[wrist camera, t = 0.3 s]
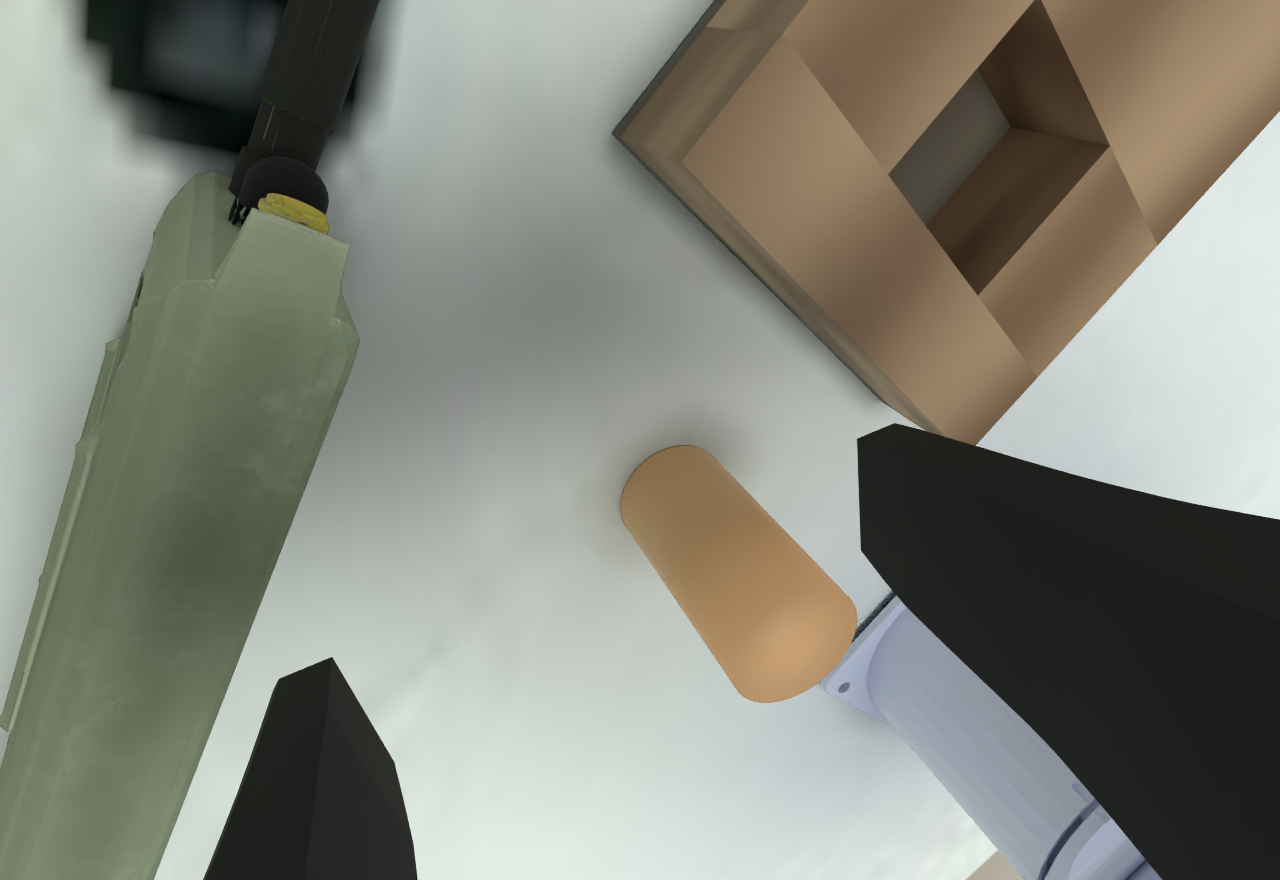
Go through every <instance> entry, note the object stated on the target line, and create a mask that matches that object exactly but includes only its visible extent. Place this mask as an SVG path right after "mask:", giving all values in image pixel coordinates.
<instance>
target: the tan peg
mask: <svg viewBox="0 0 1280 880" xmlns="http://www.w3.org/2000/svg"><path fill="white" fill-rule="evenodd" d="M620 509H621V516H622V519H623V522H624V524H625V526H626V527H627V529H628V530H629V531H630V533H631V534H632V536H633V537H634V539H635V540H636V542H637V543H638V545H639V546H640V548H641V549H642V551H643V552H644V554H645V555H646V557H647V558H648V560H649V561H650V562H651V564H652V565H653V567H654V568H655V570H656V571H657V573H658V574H659V576H660V577H661V579H662V580H663V582H664V583H665V585H666V586H667V588H668V589H669V590H670V592H671V593H672V595H673V596H674V598H675V599H676V601H677V602H678V604H679V605H680V607H681V608H682V610H683V611H684V613H685V614H686V616H687V617H688V618H689V620H690V621H691V623H692V624H693V626H694V627H695V629H696V630H697V632H698V633H699V635H700V636H701V638H702V639H703V641H704V642H705V644H706V645H707V647H708V648H709V649H710V651H711V652H712V654H713V655H714V657H715V658H716V660H717V661H718V663H719V664H720V666H721V667H722V669H723V670H724V672H725V673H726V675H727V676H728V677H729V679H730V680H731V682H732V683H733V685H734V686H735V688H736V689H737V691H738V692H739V693H740V694H741V695H742V696H743V697H745V698H747V699H749V700H751V701H754V702H760V703H771V702H778V701H782V700H786V699H789V698H792V697H794V696H796V695H799V694H801V693H803V692H804V691H806V690H808V689H809V688H811V687H813V686H814V685H816V684H817V683H818V682H820V681H821V680H822V679H823V678H824V677H826V676H827V675H828V674H829V673H830V672H831V671H832V670H833V669H834V668H835V667H836V666H837V664H838V663H839V662H840V661H841V659H842V658H843V657H844V655H845V654H846V652H847V650H848V649H849V647H850V645H851V643H852V640H853V638H854V635H855V631H856V627H857V612H856V608H855V606H854V604H853V602H852V601H851V599H850V598H849V597H848V596H847V595H846V594H845V593H844V592H843V591H842V590H841V589H840V588H839V587H838V585H837V584H836V583H835V582H834V581H833V580H832V579H831V578H830V577H829V576H828V575H827V574H826V573H825V572H824V571H823V570H822V569H821V568H820V567H819V566H818V565H817V564H816V563H815V562H814V561H813V560H812V559H811V558H810V556H809V555H808V554H807V553H806V552H805V551H804V550H803V549H802V548H801V547H800V546H799V545H798V544H797V543H796V542H795V541H794V540H793V539H792V538H791V537H790V536H789V535H788V534H787V533H786V532H785V531H784V530H783V528H782V527H781V526H780V525H779V524H778V523H777V522H776V521H775V520H774V519H773V518H772V517H771V516H770V515H769V514H768V513H767V512H766V511H765V510H764V509H763V508H762V507H761V506H760V505H759V504H758V503H757V502H756V500H755V499H754V498H753V497H752V496H751V495H750V494H749V493H748V492H747V491H746V490H745V489H744V488H743V487H742V486H741V485H740V484H739V483H738V482H737V481H736V480H735V479H734V478H733V477H732V476H731V475H730V474H729V472H728V471H727V470H726V469H725V468H724V467H723V466H722V465H721V464H720V463H719V462H718V461H717V460H716V459H715V458H714V457H713V456H712V455H711V454H710V453H708V452H707V451H705V450H703V449H701V448H698V447H694V446H676V447H671V448H668V449H665V450H662V451H660V452H658V453H656V454H654V455H652V456H651V457H650V458H648V459H647V460H645V461H644V462H643V463H642V464H641V465H640V466H639V467H638V468H637V469H636V470H635V471H634V472H633V474H632V475H631V476H630V478H629V480H628V481H627V483H626V485H625V488H624V490H623V493H622V497H621V506H620Z"/></svg>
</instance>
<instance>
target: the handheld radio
mask: <svg viewBox="0 0 1280 880" xmlns="http://www.w3.org/2000/svg"><path fill="white" fill-rule="evenodd" d="M378 3H379V0H288V2H287V5H286V8H285V12H284V15H283V18H282V21H281V24H280V27H279V31H278V34H277V37H276V40H275V43H274V47H273V50H272V53H271V56H270V59H269V62H268V66H267V69H266V72H265V75H264V78H263V82H262V85H261V88H260V91H259V94H258V96H259V97H260V98H261V99H262V101H261V104H260V108H259V111H258V114H257V117H256V120H255V123H254V127H253V130H252V133H251V136H250V139H249V142H248V146H242V148H241V152H240V155H239V158H238V161H237V164H236V167H235V171H234V174H233V177H232V178H231V177H229V176H226V175H224V174H221V173H219V172H216V171H213V172H207V173H201V174H197V175H196V176H195V177H194V178H192V179H191V180H190V181H189V182H188V183H187V184H186V185H185V186H184V187H183V188H182V190H181V191H180V192H179V193H178V194H177V195H176V197H175V198H174V199H173V200H172V201H171V203H170V204H169V205H168V206H167V208H166V210H165V212H164V214H163V216H162V218H161V220H160V222H159V223H158V225H157V227H156V229H155V231H154V237H153V243H152V247H151V251H150V254H149V257H148V260H147V262H146V265H145V267H144V269H143V271H142V274H141V277H140V281H139V284H138V287H137V291H136V294H135V298H134V301H133V304H132V308H131V311H130V315H129V318H128V321H127V325H126V328H125V332H124V335H123V338H117V339H114V340H112V341H110V342H108V343H106V350H105V357H104V360H103V364H102V367H101V371H100V374H99V378H98V381H97V384H96V388H95V391H94V395H93V398H92V402H91V405H90V409H89V412H88V415H87V419H86V422H85V426H84V429H83V433H82V436H81V439H80V441H79V442H78V443H77V444H76V454H75V460H74V464H73V467H72V471H71V474H70V478H69V481H68V485H67V488H66V492H65V495H64V499H63V502H62V506H61V509H60V513H59V516H58V520H57V523H56V527H55V530H54V534H53V537H52V541H51V544H50V548H49V552H48V555H47V559H46V562H45V566H44V569H43V573H42V574H41V576H40V578H39V587H38V590H37V594H36V597H35V601H34V604H33V608H32V611H31V615H30V618H29V622H28V625H27V629H26V632H25V636H24V639H23V643H22V646H21V650H20V653H19V657H18V660H17V664H16V667H15V671H14V674H13V678H12V681H11V685H10V688H9V692H8V695H7V699H6V702H5V706H4V709H3V713H2V714H1V716H0V726H1V727H2V728H3V729H4V730H5V731H6V732H10V735H9V739H8V743H7V746H6V750H5V754H4V758H3V761H2V765H1V769H0V880H154V877H155V875H156V872H157V869H158V867H159V864H160V862H161V859H162V857H163V854H164V851H165V849H166V846H167V844H168V841H169V838H170V836H171V833H172V831H173V828H174V826H175V823H176V820H177V818H178V815H179V813H180V810H181V807H182V805H183V802H184V800H185V797H186V795H187V792H188V789H189V787H190V784H191V782H192V779H193V776H194V774H195V771H196V769H197V766H198V764H199V761H200V758H201V756H202V753H203V751H204V748H205V745H206V743H207V740H208V738H209V735H210V733H211V730H212V727H213V725H214V722H215V720H216V717H217V714H218V712H219V709H220V707H221V704H222V702H223V699H224V696H225V694H226V691H227V689H228V686H229V683H230V681H231V678H232V676H233V673H234V671H235V668H236V665H237V663H238V660H239V658H240V655H241V653H242V650H243V647H244V645H245V642H246V640H247V637H248V634H249V632H250V629H251V627H252V624H253V622H254V619H255V616H256V614H257V611H258V609H259V606H260V603H261V601H262V598H263V596H264V593H265V591H266V588H267V585H268V583H269V580H270V578H271V575H272V572H273V570H274V567H275V565H276V562H277V560H278V557H279V554H280V552H281V549H282V547H283V544H284V541H285V539H286V536H287V534H288V531H289V529H290V526H291V523H292V521H293V518H294V516H295V513H296V510H297V508H298V505H299V503H300V500H301V498H302V495H303V492H304V490H305V487H306V485H307V482H308V479H309V477H310V474H311V472H312V469H313V467H314V464H315V461H316V459H317V456H318V454H319V451H320V448H321V446H322V443H323V441H324V438H325V436H326V433H327V430H328V428H329V425H330V423H331V420H332V417H333V415H334V412H335V410H336V407H337V405H338V402H339V399H340V397H341V394H342V392H343V389H344V387H345V384H346V381H347V379H348V376H349V374H350V371H351V368H352V366H353V362H354V359H355V355H356V351H357V348H358V344H359V338H358V335H357V332H356V329H355V327H354V324H353V321H352V319H351V316H350V313H349V311H348V308H347V305H346V303H345V300H344V297H343V294H342V292H341V289H340V286H341V281H342V277H343V273H344V268H345V264H346V259H347V255H348V250H349V245H350V244H347V243H345V242H343V241H340V240H338V239H336V238H333V237H331V236H329V235H326V234H327V233H328V230H329V225H328V224H327V222H326V221H327V217H326V216H325V215H326V212H327V208H328V203H329V201H328V193H327V190H326V187H325V185H324V183H323V182H322V180H321V178H320V177H319V176H318V175H317V174H316V173H315V171H316V168H317V165H318V162H319V159H320V156H321V153H322V150H323V148H324V145H325V142H326V139H327V136H328V133H329V130H335V127H336V124H337V121H338V118H339V115H340V112H341V110H342V107H343V104H344V101H345V98H346V95H347V92H348V89H349V87H350V84H351V81H352V78H353V75H354V72H355V69H356V66H357V63H358V61H359V58H360V55H361V52H362V49H363V46H364V43H365V40H366V38H367V35H368V32H369V29H370V26H371V23H372V20H373V17H374V15H375V12H376V9H377V6H378Z"/></svg>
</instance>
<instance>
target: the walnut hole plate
mask: <svg viewBox="0 0 1280 880" xmlns="http://www.w3.org/2000/svg"><path fill="white" fill-rule="evenodd" d="M1279 111H1280V0H715V1H714V2H713V3H712V5H711V6H710V7H709V9H708V10H707V11H706V12H705V14H704V15H703V16H702V18H701V19H700V20H699V21H698V23H697V24H696V25H695V27H694V28H693V29H692V31H691V32H690V33H689V34H688V36H687V37H686V38H685V40H684V41H683V42H682V43H681V45H680V46H679V47H678V49H677V50H676V51H675V52H674V54H673V55H672V56H671V58H670V59H669V60H668V61H667V63H666V64H665V65H664V67H663V68H662V69H661V71H660V72H659V73H658V74H657V76H656V77H655V78H654V80H653V81H652V82H651V83H650V85H649V86H648V87H647V89H646V90H645V91H644V92H643V94H642V95H641V96H640V98H639V99H638V100H637V101H636V103H635V104H634V105H633V107H632V108H631V109H630V110H629V112H628V113H627V114H626V116H625V117H624V118H623V120H622V121H621V122H620V123H619V125H618V126H617V127H616V129H615V130H614V131H613V132H612V134H613V135H614V136H615V137H616V138H617V139H618V140H619V141H620V142H621V143H622V144H623V145H624V146H625V147H626V148H627V149H628V150H629V151H630V152H631V153H632V154H633V155H634V156H635V157H636V158H637V159H638V160H639V161H640V162H641V163H642V164H643V165H644V166H645V167H646V168H647V169H648V170H649V171H650V172H651V173H652V174H653V175H654V176H655V177H656V178H657V179H658V180H659V181H660V182H661V183H662V184H663V185H664V186H665V187H666V188H668V189H669V190H670V191H671V192H672V193H673V194H674V195H675V196H676V197H677V198H678V199H679V200H680V201H681V202H682V203H683V204H684V205H685V206H686V207H687V208H688V209H689V210H690V211H691V212H692V213H693V214H694V215H695V216H696V217H697V218H698V219H699V220H700V221H701V222H702V223H703V224H704V225H705V226H706V227H707V228H708V229H709V230H710V231H711V232H712V233H713V234H714V235H715V236H716V237H717V238H718V239H719V240H720V241H721V242H722V243H723V244H724V245H725V246H726V247H727V248H728V249H729V250H730V251H731V252H732V253H733V254H734V255H735V256H736V257H737V258H738V259H739V260H740V261H741V262H742V263H743V264H744V265H745V266H746V267H747V268H748V269H749V270H750V271H751V272H752V273H753V274H754V275H755V276H756V277H757V278H758V279H759V280H760V281H761V282H762V283H763V284H764V285H765V286H766V287H767V288H768V289H769V290H770V291H771V292H772V293H773V294H774V295H775V296H776V297H777V298H778V299H779V300H780V301H781V302H782V303H783V304H784V305H785V306H786V307H787V308H788V309H789V310H790V311H792V312H793V313H794V314H795V315H796V316H797V317H798V318H799V319H800V320H801V321H802V322H803V323H804V324H805V325H806V326H807V327H808V328H809V329H810V330H811V331H812V332H813V333H814V334H815V335H816V336H817V337H818V338H819V339H820V340H821V341H822V342H823V343H824V344H825V345H826V346H827V347H828V348H829V349H830V350H831V351H832V352H833V353H834V354H835V355H836V356H837V357H838V358H839V359H840V360H841V361H842V362H843V363H844V364H845V365H846V366H847V367H848V368H849V369H850V370H851V371H852V372H853V373H854V374H855V375H856V376H857V377H858V378H859V379H860V380H861V381H862V382H863V383H864V384H865V385H866V386H867V387H868V388H869V389H870V390H871V391H872V392H873V393H874V394H875V395H876V396H877V397H878V398H879V399H880V400H881V401H882V402H883V403H885V404H886V405H888V406H889V407H891V408H892V409H894V410H895V411H897V412H898V413H900V414H901V415H903V416H904V417H906V418H907V419H909V420H910V421H912V422H913V423H915V424H916V425H918V426H919V427H921V428H922V429H924V430H925V431H927V432H930V433H934V434H937V435H941V436H944V437H948V438H951V439H954V440H958V441H961V442H964V443H968V444H971V445H974V446H975V445H976V444H977V443H978V442H979V441H980V440H981V439H982V438H983V437H984V436H985V434H986V433H987V432H988V431H989V430H990V429H991V428H992V427H993V426H994V425H995V423H996V422H997V421H998V420H999V419H1000V418H1001V417H1002V416H1003V415H1004V414H1005V412H1006V411H1007V410H1008V409H1009V408H1010V407H1011V406H1012V405H1013V404H1014V403H1015V401H1016V400H1017V399H1018V398H1019V397H1020V396H1021V395H1022V394H1023V393H1024V392H1025V390H1026V389H1027V388H1028V387H1029V386H1030V385H1031V384H1032V383H1033V382H1034V381H1035V379H1036V378H1037V377H1038V376H1039V375H1040V374H1041V373H1042V372H1043V371H1044V370H1045V368H1046V367H1047V366H1048V365H1049V364H1050V363H1051V362H1052V361H1053V360H1054V359H1055V357H1056V356H1057V355H1058V354H1059V353H1060V352H1061V351H1062V350H1063V349H1064V348H1065V347H1066V345H1067V344H1068V343H1069V342H1070V341H1071V340H1072V339H1073V338H1074V337H1075V336H1076V334H1077V333H1078V332H1079V331H1080V330H1081V329H1082V328H1083V327H1084V326H1085V325H1086V323H1087V322H1088V321H1089V320H1090V319H1091V318H1092V317H1093V316H1094V315H1095V314H1096V312H1097V311H1098V310H1099V309H1100V308H1101V307H1102V306H1103V305H1104V304H1105V303H1106V301H1107V300H1108V299H1109V298H1110V297H1111V296H1112V295H1113V294H1114V293H1115V292H1116V290H1117V289H1118V288H1119V287H1120V286H1121V285H1122V284H1123V283H1124V282H1125V281H1126V279H1127V278H1128V277H1129V276H1130V275H1131V274H1132V273H1133V272H1134V271H1135V270H1136V268H1137V267H1138V266H1139V265H1140V264H1141V263H1142V262H1143V261H1144V260H1145V259H1146V257H1147V256H1148V255H1149V254H1150V253H1151V252H1152V251H1153V250H1154V249H1155V248H1156V246H1157V245H1158V244H1159V243H1160V242H1161V241H1162V240H1163V239H1164V238H1165V237H1166V235H1167V234H1168V233H1169V232H1170V231H1171V230H1172V229H1173V228H1174V227H1175V226H1176V224H1177V223H1178V222H1179V221H1180V220H1181V219H1182V218H1183V217H1184V216H1185V215H1186V213H1187V212H1188V211H1189V210H1190V209H1191V208H1192V207H1193V206H1194V205H1195V204H1196V202H1197V201H1198V200H1199V199H1200V198H1201V197H1202V196H1203V195H1204V194H1205V193H1206V191H1207V190H1208V189H1209V188H1210V187H1211V186H1212V185H1213V184H1214V183H1215V182H1216V180H1217V179H1218V178H1219V177H1220V176H1221V175H1222V174H1223V173H1224V172H1225V171H1226V169H1227V168H1228V167H1229V166H1230V165H1231V164H1232V163H1233V162H1234V161H1235V160H1236V159H1237V157H1238V156H1239V155H1240V154H1241V153H1242V152H1243V151H1244V150H1245V149H1246V148H1247V146H1248V145H1249V144H1250V143H1251V142H1252V141H1253V140H1254V139H1255V138H1256V137H1257V135H1258V134H1259V133H1260V132H1261V131H1262V130H1263V129H1264V128H1265V127H1266V126H1267V124H1268V123H1269V122H1270V121H1271V120H1272V119H1273V118H1274V117H1275V116H1276V115H1277V113H1278V112H1279Z"/></svg>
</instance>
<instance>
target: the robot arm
mask: <svg viewBox="0 0 1280 880" xmlns="http://www.w3.org/2000/svg"><path fill="white" fill-rule="evenodd" d="M857 449H858V478H859V507H860V537H861V551H862V552H863V554H864V555H865V556H866V557H867V559H868V560H869V561H870V563H871V564H872V565H873V567H874V568H875V569H876V570H877V572H878V573H879V574H880V576H881V577H882V578H883V579H884V581H885V582H886V583H887V584H888V586H889V587H890V588H891V589H892V590H893V592H894V593H895V594H896V596H895V597H894V598H893V599H892V600H891V601H890V603H889V604H888V605H887V606H886V607H885V608H884V609H883V610H882V611H881V612H880V613H879V614H878V616H877V617H876V618H875V619H874V620H873V621H872V622H871V623H870V624H869V625H868V626H867V627H866V629H865V630H864V631H863V632H862V633H861V634H860V635H859V636H858V637H857V638H856V639H855V640H854V642H853V643H852V644H851V645H850V647H849V649H848V650H847V652H846V654H845V655H844V657H843V658H842V659H841V661H840V662H839V663H838V664H837V666H836V667H835V668H834V669H833V670H832V671H831V672H830V673H829V674H828V675H827V676H826V677H824V678H823V679H822V680H821V681H820V684H821V686H822V687H823V689H824V690H825V691H826V692H827V693H829V694H831V695H833V696H835V697H837V698H839V699H840V700H842V701H844V702H846V703H848V704H850V705H852V706H854V707H856V708H858V709H860V710H862V711H864V712H866V713H868V714H870V715H872V716H874V717H876V718H878V719H880V720H882V721H884V722H886V723H888V724H890V725H892V726H893V727H894V728H895V729H896V731H897V732H898V733H899V734H900V735H901V736H902V738H903V739H904V740H905V741H906V742H907V744H908V745H909V746H910V747H911V748H912V749H913V751H914V752H915V753H916V754H917V755H918V756H919V758H920V759H921V760H922V761H923V762H924V763H925V765H926V766H927V767H928V768H929V769H930V770H931V772H932V773H933V774H934V775H935V776H936V777H937V779H938V780H939V781H940V782H941V783H942V784H943V786H944V787H945V788H946V789H947V790H948V792H949V793H950V794H951V795H952V796H953V797H954V799H955V800H956V801H957V802H958V803H959V804H960V806H961V807H962V808H963V809H964V810H965V811H966V813H967V814H968V815H969V816H970V817H971V818H972V820H973V821H974V822H975V823H976V824H977V825H978V827H979V828H980V829H981V830H982V831H983V832H984V834H985V835H986V836H987V837H988V838H989V839H990V841H991V842H992V843H993V844H994V845H995V847H996V848H997V849H998V850H999V851H1000V852H1001V853H1002V855H1003V856H1004V857H1005V858H1006V859H1007V860H1008V862H1009V863H1010V864H1011V865H1012V866H1013V868H1014V869H1015V870H1016V871H1017V872H1018V873H1019V875H1020V876H1021V877H1022V878H1023V879H1024V880H1280V520H1279V519H1273V518H1267V517H1262V516H1256V515H1251V514H1245V513H1240V512H1235V511H1229V510H1224V509H1218V508H1213V507H1207V506H1202V505H1197V504H1192V503H1188V502H1183V501H1178V500H1174V499H1169V498H1165V497H1160V496H1156V495H1152V494H1148V493H1144V492H1140V491H1136V490H1132V489H1127V488H1123V487H1119V486H1115V485H1111V484H1107V483H1103V482H1099V481H1096V480H1092V479H1088V478H1084V477H1081V476H1077V475H1073V474H1070V473H1066V472H1063V471H1059V470H1055V469H1052V468H1048V467H1045V466H1041V465H1038V464H1035V463H1031V462H1028V461H1024V460H1021V459H1018V458H1014V457H1011V456H1008V455H1004V454H1001V453H998V452H994V451H991V450H988V449H984V448H981V447H978V446H974V445H971V444H968V443H964V442H961V441H958V440H954V439H951V438H948V437H944V436H941V435H937V434H934V433H930V432H927V431H923V430H920V429H916V428H912V427H908V426H904V425H900V424H895V423H894V424H892V425H889V426H887V427H884V428H882V429H880V430H877V431H875V432H872V433H870V434H867V435H865V436H863V437H860V438H858V439H857ZM203 880H417V871H416V863H415V854H414V846H413V840H412V836H411V831H410V827H409V822H408V818H407V813H406V809H405V805H404V800H403V796H402V792H401V788H400V784H399V780H398V776H397V772H396V767H395V763H394V761H393V759H392V758H391V756H390V754H389V753H388V751H387V749H386V747H385V746H384V744H383V742H382V741H381V739H380V737H379V736H378V734H377V732H376V730H375V729H374V727H373V725H372V724H371V722H370V720H369V719H368V717H367V715H366V714H365V712H364V710H363V708H362V707H361V705H360V703H359V702H358V700H357V698H356V697H355V695H354V693H353V691H352V690H351V688H350V686H349V685H348V683H347V681H346V680H345V678H344V676H343V675H342V673H341V671H340V669H339V668H338V666H337V664H336V663H335V661H334V659H333V658H332V657H331V658H328V659H326V660H324V661H321V662H319V663H316V664H314V665H312V666H309V667H307V668H304V669H302V670H299V671H297V672H295V673H292V674H290V675H287V676H285V677H283V678H280V679H279V680H278V682H277V684H276V686H275V688H274V690H273V693H272V696H271V698H270V701H269V704H268V707H267V710H266V713H265V716H264V719H263V722H262V725H261V728H260V731H259V734H258V737H257V740H256V742H255V745H254V748H253V751H252V754H251V757H250V760H249V762H248V765H247V768H246V771H245V773H244V776H243V779H242V782H241V784H240V787H239V790H238V793H237V795H236V798H235V801H234V803H233V806H232V808H231V811H230V813H229V816H228V818H227V821H226V824H225V826H224V829H223V831H222V834H221V836H220V839H219V841H218V844H217V847H216V849H215V852H214V854H213V857H212V859H211V862H210V864H209V867H208V869H207V872H206V874H205V876H204V879H203Z"/></svg>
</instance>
